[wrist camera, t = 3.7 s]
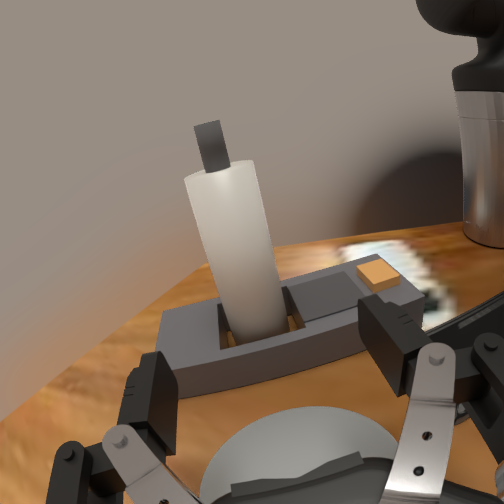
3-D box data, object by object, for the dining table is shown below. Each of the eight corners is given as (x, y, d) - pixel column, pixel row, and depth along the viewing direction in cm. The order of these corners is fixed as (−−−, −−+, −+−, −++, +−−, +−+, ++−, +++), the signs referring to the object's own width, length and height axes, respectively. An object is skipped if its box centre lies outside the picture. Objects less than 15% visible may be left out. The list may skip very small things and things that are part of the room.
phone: (574, 324, 13) (448, 425, 12) (569, 335, 13) (444, 434, 13) (517, 281, 20) (390, 344, 19) (515, 291, 21) (389, 355, 20)
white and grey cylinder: (285, 321, 26) (238, 116, 20) (297, 354, 22) (245, 112, 16) (236, 334, 26) (175, 132, 19) (241, 369, 22) (166, 133, 15)
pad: (365, 389, 18) (366, 384, 17) (438, 530, 7) (441, 527, 7) (199, 433, 17) (196, 428, 17) (210, 590, 7) (206, 589, 7)
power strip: (377, 281, 28) (376, 245, 27) (421, 327, 21) (425, 286, 19) (174, 336, 28) (159, 303, 26) (167, 400, 20) (145, 365, 19)
